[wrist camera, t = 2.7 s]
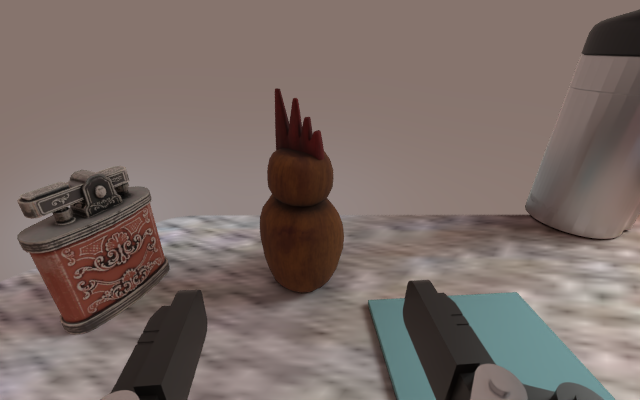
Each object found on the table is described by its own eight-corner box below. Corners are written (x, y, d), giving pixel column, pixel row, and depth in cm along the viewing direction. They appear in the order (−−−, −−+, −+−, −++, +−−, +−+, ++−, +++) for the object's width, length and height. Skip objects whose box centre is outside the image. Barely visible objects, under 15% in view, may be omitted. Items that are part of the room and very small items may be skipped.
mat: (515, 295, 24) (516, 292, 24) (668, 466, 14) (672, 461, 14) (367, 304, 23) (368, 300, 23) (425, 492, 13) (426, 488, 13)
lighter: (150, 258, 28) (119, 153, 23) (179, 267, 26) (152, 159, 22) (52, 324, 21) (-19, 195, 16) (85, 341, 20) (19, 207, 15)
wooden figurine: (254, 265, 27) (236, 87, 20) (309, 246, 30) (310, 83, 23) (289, 317, 22) (281, 102, 15) (352, 287, 25) (369, 95, 18)
